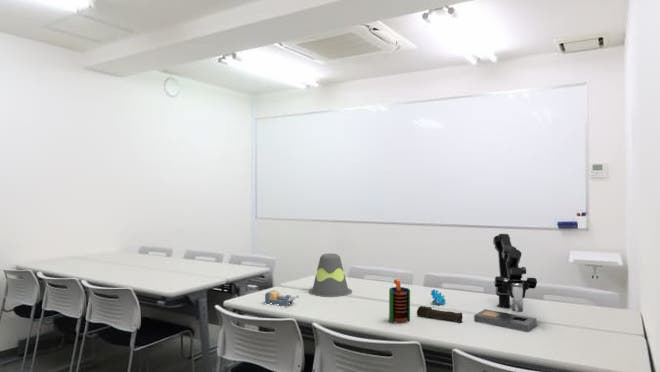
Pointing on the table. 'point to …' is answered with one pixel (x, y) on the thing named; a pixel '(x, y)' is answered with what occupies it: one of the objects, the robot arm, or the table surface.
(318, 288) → the traffic cone
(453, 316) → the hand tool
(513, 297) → the steel plug
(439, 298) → the gear
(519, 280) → the robot arm
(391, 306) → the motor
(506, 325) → the plate
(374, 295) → the table surface
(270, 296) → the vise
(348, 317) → the table surface
